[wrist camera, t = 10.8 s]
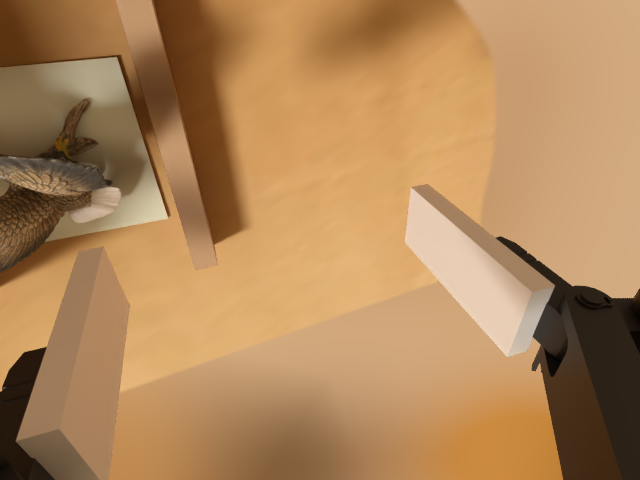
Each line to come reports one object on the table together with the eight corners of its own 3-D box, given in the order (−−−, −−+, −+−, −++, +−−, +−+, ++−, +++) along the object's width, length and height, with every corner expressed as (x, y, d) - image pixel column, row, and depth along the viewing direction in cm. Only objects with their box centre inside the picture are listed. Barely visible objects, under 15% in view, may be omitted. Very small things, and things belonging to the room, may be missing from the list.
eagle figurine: (-6, 60, 19) (-104, 109, 12) (147, 123, 22) (143, 189, 15) (-34, 192, 21) (-128, 298, 14) (108, 229, 25) (88, 327, 18)
